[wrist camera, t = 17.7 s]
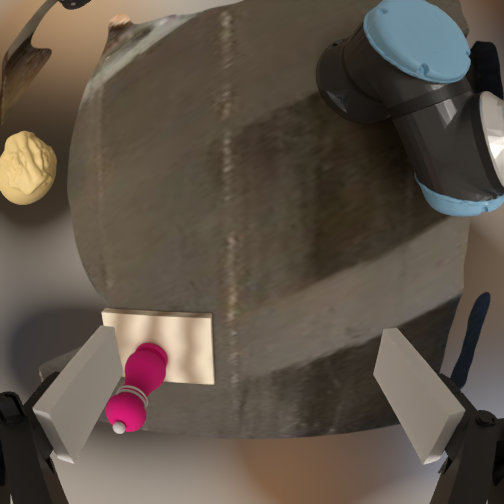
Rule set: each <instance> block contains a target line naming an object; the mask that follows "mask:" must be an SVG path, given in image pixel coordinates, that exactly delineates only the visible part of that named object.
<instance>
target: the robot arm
mask: <svg viewBox="0 0 504 504" xmlns="http://www.w3.org/2000/svg"><path fill="white" fill-rule="evenodd" d="M469 55H470V48H469V45H468V43H467V40H466V38H465V36H464V34H463V32H462V31H461V29H460V28H459V27H458V25H457V24H456V23H455V22H454V20H453V19H452V18H451V17H450V16H448V15H447V14H446V13H445V12H444V11H443V10H441V9H440V8H438V7H437V6H435V5H431V4H429V3H428V2H426V1H425V0H383V1H382V2H380V3H379V4H378V5H377V6H376V7H375V8H373V9H371V10H370V12H368V13H367V14H366V16H365V18H364V20H363V21H362V22H361V24H360V25H359V26H358V27H357V29H356V30H355V31H354V33H353V34H352V35H351V36H350V37H348V38H344V39H341V40H338V41H336V42H334V43H333V44H331V45H330V46H329V47H328V48H327V49H326V50H325V51H324V53H323V54H322V56H321V58H320V59H319V62H318V65H317V69H316V79H317V85H318V88H319V91H320V93H321V95H322V97H323V98H324V100H325V101H326V103H327V104H328V105H329V106H330V107H331V108H332V109H333V110H334V111H335V112H336V113H338V114H339V115H340V116H342V117H344V118H346V119H348V120H350V121H353V122H356V123H362V124H372V123H377V122H380V121H383V120H385V119H388V118H389V117H391V119H392V121H393V123H394V125H395V127H396V129H397V131H398V134H399V136H400V138H401V140H402V143H403V145H404V147H405V149H406V152H407V154H408V156H409V159H410V161H411V164H412V166H413V169H414V171H415V173H414V175H415V179H416V181H417V182H418V184H419V185H420V187H421V189H422V191H423V194H424V196H425V199H426V201H427V202H428V203H429V204H430V206H431V207H432V208H434V209H435V210H437V211H439V212H441V213H443V214H447V215H452V216H475V215H480V214H481V212H483V211H484V212H490V211H493V210H495V209H497V208H498V207H500V206H501V205H502V204H503V202H504V100H501V99H500V98H498V97H496V96H495V95H493V94H492V93H490V92H488V91H485V92H481V93H478V94H474V92H473V90H472V88H471V86H470V84H469V82H468V80H467V78H466V72H467V71H468V69H469V67H470V62H471V60H470V58H469V57H468V56H469ZM122 374H123V368H122V364H121V359H120V354H119V350H118V344H117V339H116V334H115V328H114V327H110V326H100V327H99V328H98V329H97V330H96V332H95V333H94V334H93V335H92V336H91V337H90V338H89V340H88V341H87V342H86V343H85V344H84V345H83V347H82V348H81V349H80V350H79V351H78V353H77V354H76V355H75V356H74V357H73V358H72V360H71V361H70V362H69V363H68V364H67V366H66V367H65V368H64V369H63V371H62V372H61V373H60V372H54V373H53V374H51V375H49V376H48V377H47V378H46V379H45V380H44V381H43V382H42V383H41V385H40V386H39V387H38V388H37V391H35V392H34V393H33V394H32V396H31V397H30V398H29V399H28V401H27V402H26V403H25V404H24V405H23V404H22V402H21V400H20V398H19V396H18V395H17V394H16V393H14V392H10V391H9V392H2V393H0V504H10V495H11V496H12V501H13V504H69V503H68V501H67V498H66V496H65V493H64V491H63V489H62V486H61V483H60V481H59V478H58V475H57V472H56V470H55V467H54V464H53V461H52V459H51V458H50V454H51V452H52V450H54V452H55V453H56V455H57V457H58V458H59V459H61V460H64V461H67V462H70V463H75V462H76V460H77V458H78V456H79V454H80V452H81V450H82V448H83V446H84V444H85V442H86V440H87V439H88V437H89V435H90V433H91V431H92V429H93V427H94V425H95V423H96V421H97V420H98V418H99V416H100V414H101V412H102V410H103V408H104V407H105V405H106V403H107V401H108V399H109V397H110V396H111V394H112V392H113V390H114V388H115V387H116V385H117V383H118V381H119V380H120V378H121V376H122ZM373 375H374V376H375V378H376V380H377V382H378V383H379V385H380V387H381V389H382V390H383V392H384V394H385V396H386V397H387V399H388V401H389V403H390V405H391V406H392V408H393V410H394V412H395V414H396V415H397V417H398V419H399V421H400V423H401V424H402V426H403V428H404V430H405V432H406V434H407V435H408V437H409V439H410V441H411V443H412V445H413V447H414V449H415V450H416V452H417V454H418V456H419V458H420V460H421V462H422V463H423V464H427V463H430V462H434V461H437V460H439V458H440V457H441V455H442V453H443V452H444V450H445V451H446V453H447V455H448V457H447V459H446V461H445V462H444V464H443V465H442V467H441V468H440V470H439V471H438V473H441V475H440V478H439V481H438V483H437V486H436V489H435V491H434V494H433V497H432V499H431V502H430V504H486V502H487V501H488V504H504V418H502V419H497V418H496V417H495V415H493V414H492V413H490V412H488V411H485V410H478V411H477V410H476V408H475V407H474V406H473V405H472V404H471V402H470V401H469V400H468V399H467V398H466V396H465V395H464V394H463V393H461V391H460V389H459V388H458V387H456V385H455V384H454V382H453V381H452V380H451V379H450V378H448V377H446V376H445V375H443V374H442V373H441V374H436V373H435V372H434V371H433V370H432V368H431V367H430V366H429V365H428V364H427V362H426V361H425V360H424V359H423V358H422V357H421V355H420V354H419V353H418V352H417V351H416V350H415V348H414V347H413V346H412V345H411V344H410V343H409V341H408V340H407V339H406V338H405V337H404V336H403V335H402V333H401V332H400V331H399V330H398V329H397V328H392V329H383V334H382V339H381V343H380V348H379V353H378V357H377V361H376V365H375V369H374V374H373ZM441 471H442V472H441Z"/></svg>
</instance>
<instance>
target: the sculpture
mask: <svg viewBox="0 0 504 504" xmlns="http://www.w3.org/2000/svg"><path fill="white" fill-rule="evenodd" d="M56 164H57V159H56V155H55V153H54V151H53V149H52V147H51V146H48V145H46V144H45V143H44V142H43V141H42V140H40V139H39V138H37V137H35V134H34V133H32V132H27V131H22V132H20V133H18V134H15V135H12V136H10V137H9V138H8V139H7V141H6V144H5V151H4V152H3V154H2V155H1V157H0V191H1V192H2V194H3V195H4V196H5V197H6V198H7V199H8V200H9V201H11V202H13V203H15V204H20V205H25V204H30V203H33V202H35V201H37V200H39V199H40V198H41V197H43V196H44V195H45V194H46V193H47V192H48V191H49V189H50V188H51V186H52V185H53V182H54V180H55V176H56Z"/></svg>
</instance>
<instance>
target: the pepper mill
mask: <svg viewBox="0 0 504 504" xmlns="http://www.w3.org/2000/svg"><path fill="white" fill-rule="evenodd" d="M167 363H168V357H167V354H166V352H165V351H164V350H163V349H162V348H161V347H160V346H158V345H156V344H154V343H143V344H141V345H139V346H138V347H137V349H136V351H135V352H134V353H132V354H131V355H130V356H129V357H128V359H127V361H126V364H125V378H126V380H125V384H124V386H122V387H120V388H119V389H118V391H117V393H116V395H114V396H113V397H111V398H110V399H109V401H108V403H107V405H106V416H107V418H108V420H109V422H110V423H111V424H112V425H113V429H114V431H115V432H116V433H118V434H121V433H124V432H133V431H136V430H138V429H140V428H141V427H142V426H143V424H144V422H145V420H146V411H145V410H146V407H147V405H148V399H147V397H148V395H149V394H150V393H151V392H152V391H154V390H155V389H157V388H158V387H159V386H160V385H161V384H162V383H163V381H164V379H165V376H166V366H167Z"/></svg>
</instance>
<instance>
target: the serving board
mask: <svg viewBox="0 0 504 504" xmlns="http://www.w3.org/2000/svg"><path fill="white" fill-rule="evenodd" d="M102 318H103V324H104V326H110V327H114V328H115V334H116V339H117V344H118V350H119V354H120V359H121V364H122V368H123V374H122V377H125V364H126V361H127V359H128V357H129V356H130V355H131V354H132V353H134V352H135V351H136V349H137V347H138V346H139V345H141V344H143V343H154V344H156V345H158V346H160V347H161V348H162V349H163V350H164V351H165V352H166V354H167V357H168V363H167V366H166V376H165V379H164V381H169V382H181V383H197V384H214V381H215V370H214V351H213V329H212V313H188V312H165V311H146V310H130V309H115V308H105V309H104V310H103V311H102Z"/></svg>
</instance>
